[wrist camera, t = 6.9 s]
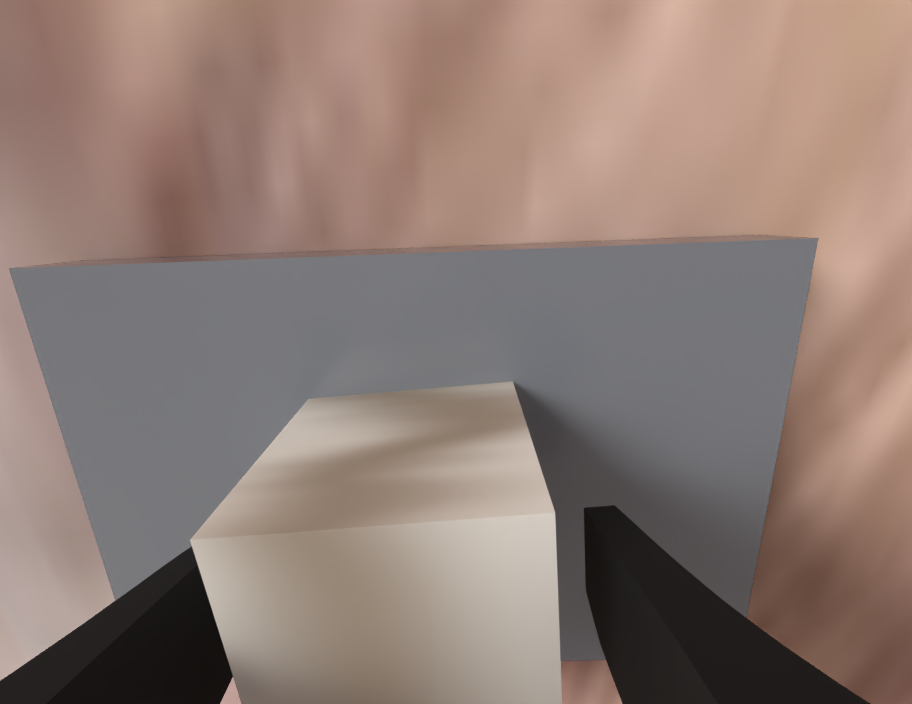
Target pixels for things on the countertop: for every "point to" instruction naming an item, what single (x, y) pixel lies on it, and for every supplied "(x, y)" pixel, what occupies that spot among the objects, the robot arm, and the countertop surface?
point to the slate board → (437, 380)
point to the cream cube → (390, 556)
